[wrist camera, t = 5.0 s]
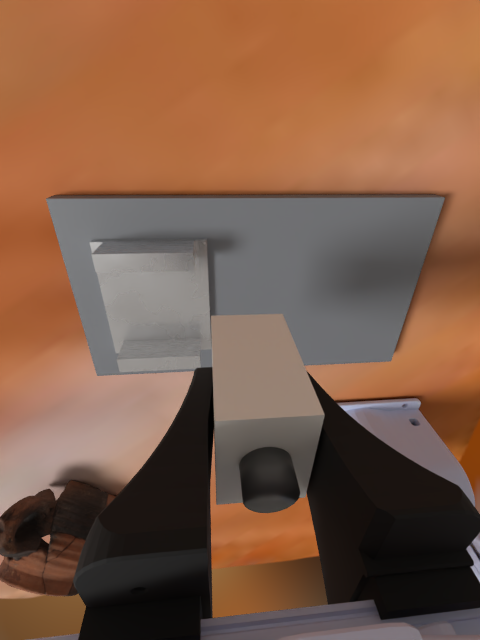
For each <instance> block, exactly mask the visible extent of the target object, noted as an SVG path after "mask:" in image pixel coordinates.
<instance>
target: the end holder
mask: <svg viewBox="0 0 480 640" xmlns="http://www.w3.org/2000/svg"><path fill="white" fill-rule="evenodd" d="M90 247H91V251H92V254H91V255H92V259H93V263H94V267H95V272H96V273H97V276H98V280H99V284H100V289H101V293H102V297H103V301H104V305H105V310H106V314H107V318H108V322H109V326H110V331H111V335H112V339H113V343H114V347H115V352H116V353H119V355H118V357H117V363H118V368H119V372H138V371H159V370H179V369H196V368H201V350H205V349H211V328H210V304H209V280H208V256H207V239H137V240H91V241H90Z"/></svg>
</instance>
